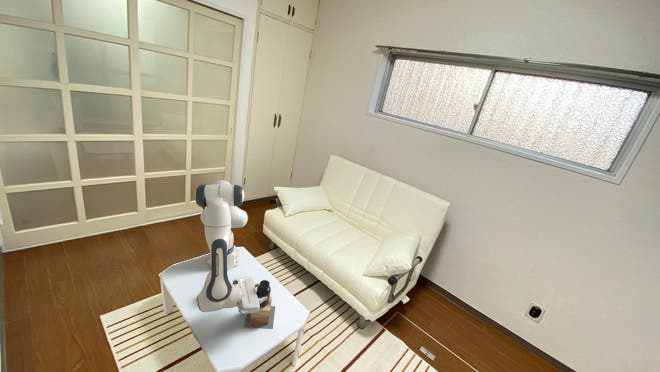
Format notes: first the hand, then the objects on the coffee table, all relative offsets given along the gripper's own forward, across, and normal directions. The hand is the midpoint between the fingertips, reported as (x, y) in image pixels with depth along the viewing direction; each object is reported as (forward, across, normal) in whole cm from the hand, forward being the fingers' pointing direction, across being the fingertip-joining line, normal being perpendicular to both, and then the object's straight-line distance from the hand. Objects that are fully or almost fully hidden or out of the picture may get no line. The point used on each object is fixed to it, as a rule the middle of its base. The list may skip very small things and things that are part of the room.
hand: (265, 291), depth 131 cm
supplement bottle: (-1, 0, +7) cm, 7 cm away
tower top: (-1, 0, +12) cm, 12 cm away
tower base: (-1, 0, +16) cm, 17 cm away
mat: (-1, 0, +17) cm, 17 cm away
